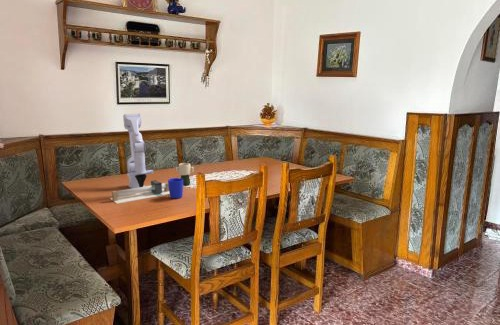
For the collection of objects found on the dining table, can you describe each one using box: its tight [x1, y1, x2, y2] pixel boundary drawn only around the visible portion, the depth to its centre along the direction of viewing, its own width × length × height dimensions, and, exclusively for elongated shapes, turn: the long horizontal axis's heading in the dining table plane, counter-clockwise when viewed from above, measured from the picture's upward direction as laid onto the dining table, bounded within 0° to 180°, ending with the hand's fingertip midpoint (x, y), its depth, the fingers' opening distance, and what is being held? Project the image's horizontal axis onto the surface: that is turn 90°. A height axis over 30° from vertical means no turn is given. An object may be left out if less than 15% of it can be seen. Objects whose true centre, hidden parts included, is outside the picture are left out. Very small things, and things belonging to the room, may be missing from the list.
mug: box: [167, 177, 184, 200], centre depth 221 cm, size 8×12×10 cm
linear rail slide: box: [109, 181, 170, 205], centre depth 222 cm, size 12×32×5 cm, turn 126°
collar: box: [150, 179, 163, 194], centre depth 227 cm, size 8×3×6 cm, turn 36°
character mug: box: [175, 162, 195, 186], centre depth 246 cm, size 11×7×13 cm, turn 87°
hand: (141, 187), depth 225 cm, fingers closed
